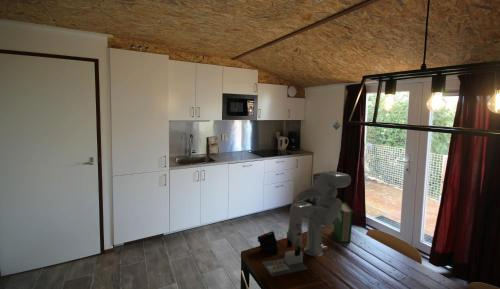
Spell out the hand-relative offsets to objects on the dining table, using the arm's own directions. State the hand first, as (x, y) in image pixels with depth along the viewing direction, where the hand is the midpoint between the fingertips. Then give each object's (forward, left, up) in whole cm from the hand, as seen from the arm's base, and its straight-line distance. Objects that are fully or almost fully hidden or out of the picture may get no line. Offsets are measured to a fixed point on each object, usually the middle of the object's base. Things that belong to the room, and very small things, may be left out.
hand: (293, 251), depth 155 cm
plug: (-4, 0, -7) cm, 8 cm away
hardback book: (-53, -20, -9) cm, 57 cm away
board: (+6, +2, -8) cm, 10 cm away
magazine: (+10, -15, -9) cm, 20 cm away
